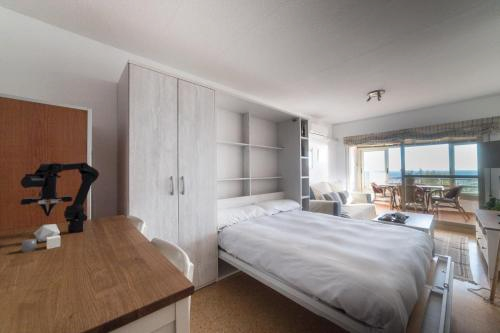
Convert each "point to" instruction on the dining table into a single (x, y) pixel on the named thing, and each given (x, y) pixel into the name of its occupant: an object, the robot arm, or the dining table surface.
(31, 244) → the grey rounded piece
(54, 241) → the cream block
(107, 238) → the dining table surface
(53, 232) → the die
